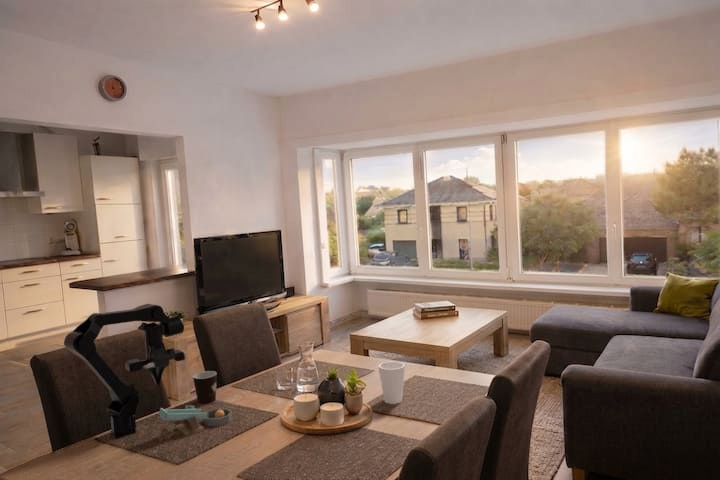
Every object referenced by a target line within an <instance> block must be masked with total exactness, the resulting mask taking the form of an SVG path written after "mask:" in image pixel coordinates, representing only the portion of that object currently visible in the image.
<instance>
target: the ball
mask: <svg viewBox="0 0 720 480" xmlns="http://www.w3.org/2000/svg"><path fill="white" fill-rule="evenodd" d="M221 417H224V411H223V410H217V411H216V412H215V418H221Z"/></svg>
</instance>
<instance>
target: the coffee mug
mask: <svg viewBox="0 0 720 480" xmlns="http://www.w3.org/2000/svg"><path fill="white" fill-rule="evenodd" d="M217 375H218V373H217V371H214V370H207V371H200V372H197V373H194V374H193V376H192V379H193V383H194V384H193V385H194V389H195V394H196V399H197V403H198V404H200V405H209V404H212V403H214V402H216V399H217V397H216V395H217V382H218V381H217V377H218V376H217Z"/></svg>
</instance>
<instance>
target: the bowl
mask: <svg viewBox="0 0 720 480" xmlns="http://www.w3.org/2000/svg"><path fill="white" fill-rule="evenodd" d="M217 410H223V411H224V417H221V418H215V412H216V411H217ZM206 413H207V417H206V419H202V420H203V424H204V425H206V426H207V427H221V426H223V425H226V424H229V423H230V422H231V421H232V420H233V411H232V410H231V409H229V408H215V409H212V410H208V411H206Z"/></svg>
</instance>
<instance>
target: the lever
mask: <svg viewBox="0 0 720 480" xmlns="http://www.w3.org/2000/svg"><path fill="white" fill-rule="evenodd" d="M158 413H159V419H162V420H163V421H178V420H180V421H183V420H184V419H189V420H190V417H193V416H195V417H196V420H203V419H206V417H207V412H203V409H202V408H196V407H195V405H185V408H183V409H182V408H178V409H177V408H176V409H174V408H173V409H164V408H163V407H159V412H158Z"/></svg>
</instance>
